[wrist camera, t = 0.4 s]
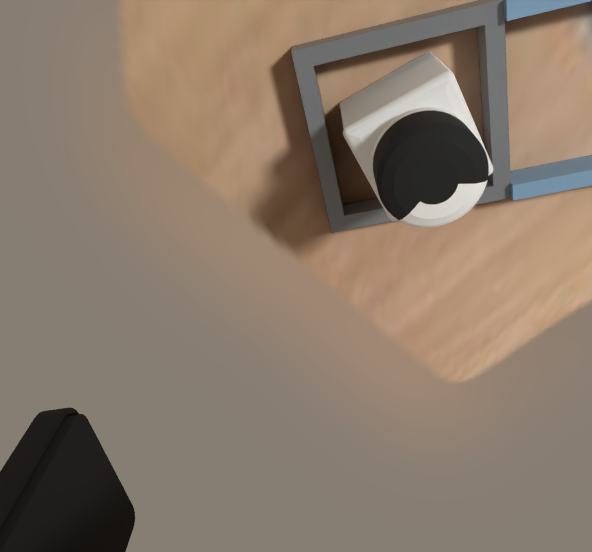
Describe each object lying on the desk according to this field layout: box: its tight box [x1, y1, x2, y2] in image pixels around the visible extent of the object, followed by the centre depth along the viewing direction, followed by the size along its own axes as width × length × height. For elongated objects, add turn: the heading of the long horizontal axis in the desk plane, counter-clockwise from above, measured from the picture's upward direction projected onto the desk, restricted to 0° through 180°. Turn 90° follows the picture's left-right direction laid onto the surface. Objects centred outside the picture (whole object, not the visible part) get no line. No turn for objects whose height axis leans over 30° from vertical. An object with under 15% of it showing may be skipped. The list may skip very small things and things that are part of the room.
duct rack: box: [291, 0, 592, 233], centre depth 38 cm, size 13×26×2 cm, turn 103°
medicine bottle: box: [339, 52, 493, 228], centre depth 34 cm, size 7×7×12 cm
